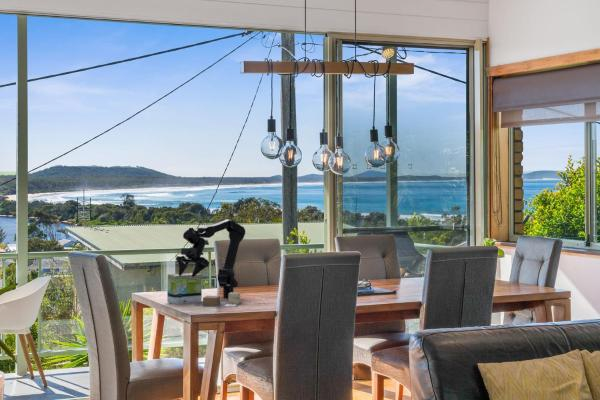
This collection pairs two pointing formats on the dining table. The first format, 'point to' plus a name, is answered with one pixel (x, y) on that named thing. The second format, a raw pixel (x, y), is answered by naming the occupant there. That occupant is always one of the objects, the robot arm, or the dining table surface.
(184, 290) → the tea box
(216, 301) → the walnut block
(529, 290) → the dining table surface
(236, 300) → the grey green cube
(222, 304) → the build mat
